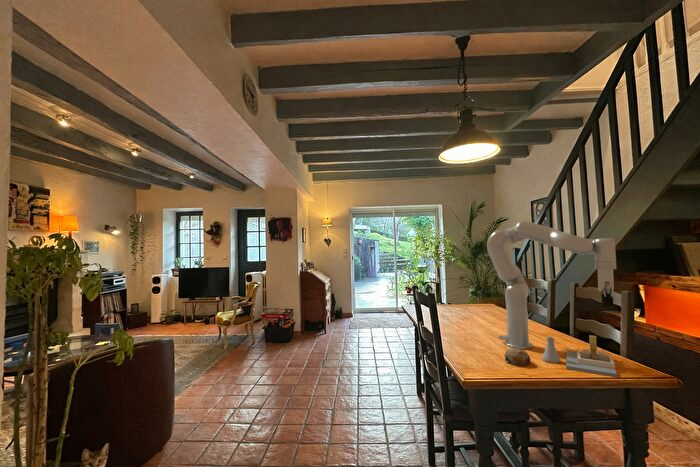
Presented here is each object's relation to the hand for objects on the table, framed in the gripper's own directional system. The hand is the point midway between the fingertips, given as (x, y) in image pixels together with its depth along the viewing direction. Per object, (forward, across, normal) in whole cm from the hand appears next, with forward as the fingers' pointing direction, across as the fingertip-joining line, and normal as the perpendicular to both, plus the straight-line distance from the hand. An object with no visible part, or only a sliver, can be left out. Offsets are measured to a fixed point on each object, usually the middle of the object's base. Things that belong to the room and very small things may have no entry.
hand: (607, 304), depth 141 cm
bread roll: (+25, +25, -34) cm, 49 cm away
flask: (+24, +15, -22) cm, 36 cm away
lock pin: (+23, +7, -6) cm, 24 cm away
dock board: (+24, +11, -8) cm, 28 cm away
